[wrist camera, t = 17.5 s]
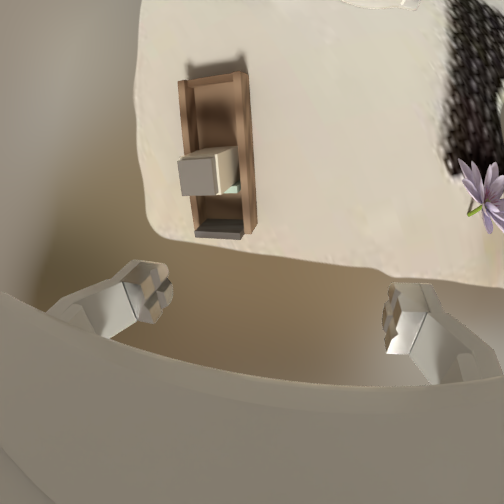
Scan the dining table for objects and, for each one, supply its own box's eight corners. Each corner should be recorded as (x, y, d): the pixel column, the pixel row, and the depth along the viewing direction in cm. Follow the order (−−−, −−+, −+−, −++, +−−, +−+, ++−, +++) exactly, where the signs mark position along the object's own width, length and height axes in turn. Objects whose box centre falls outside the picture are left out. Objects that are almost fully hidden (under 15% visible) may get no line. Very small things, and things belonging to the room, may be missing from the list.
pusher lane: (190, 83, 34) (170, 80, 29) (248, 74, 32) (235, 68, 27) (205, 221, 45) (189, 237, 40) (257, 223, 43) (247, 240, 38)
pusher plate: (203, 180, 40) (193, 186, 37) (244, 179, 39) (236, 186, 36) (204, 186, 41) (194, 193, 38) (244, 186, 39) (237, 193, 36)
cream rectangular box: (205, 147, 38) (174, 158, 30) (237, 145, 37) (213, 155, 29) (208, 179, 40) (180, 198, 32) (240, 179, 39) (217, 197, 31)
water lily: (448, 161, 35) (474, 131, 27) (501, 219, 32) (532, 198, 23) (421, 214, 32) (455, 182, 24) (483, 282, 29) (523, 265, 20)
